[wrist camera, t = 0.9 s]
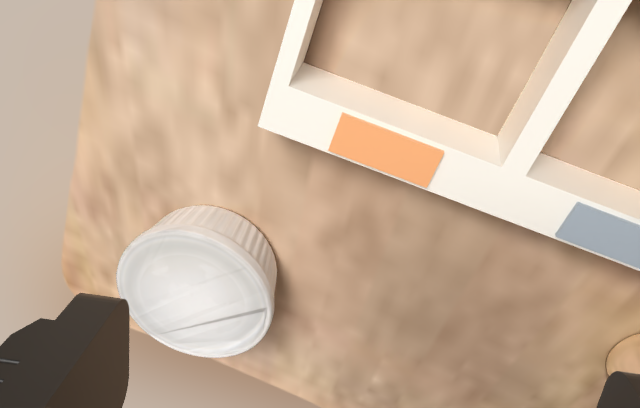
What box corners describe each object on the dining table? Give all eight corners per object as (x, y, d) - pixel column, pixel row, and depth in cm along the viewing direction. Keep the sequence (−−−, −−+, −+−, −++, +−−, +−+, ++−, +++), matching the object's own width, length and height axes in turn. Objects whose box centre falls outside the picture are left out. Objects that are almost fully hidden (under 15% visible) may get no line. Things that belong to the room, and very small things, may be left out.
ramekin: (244, 333, 50) (224, 383, 45) (124, 261, 48) (91, 305, 44) (318, 248, 44) (303, 295, 40) (184, 162, 42) (153, 201, 38)
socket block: (351, -155, 30) (338, -152, 27) (877, 49, 31) (932, 79, 27) (274, 100, 38) (256, 128, 35) (693, 259, 39) (718, 303, 35)
